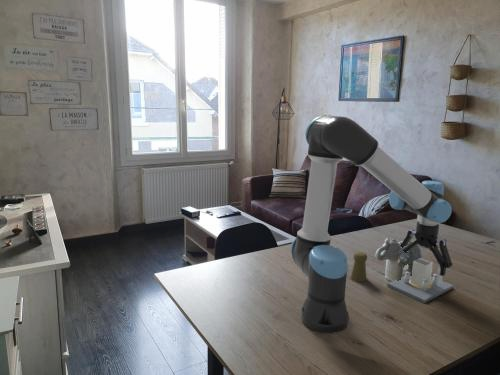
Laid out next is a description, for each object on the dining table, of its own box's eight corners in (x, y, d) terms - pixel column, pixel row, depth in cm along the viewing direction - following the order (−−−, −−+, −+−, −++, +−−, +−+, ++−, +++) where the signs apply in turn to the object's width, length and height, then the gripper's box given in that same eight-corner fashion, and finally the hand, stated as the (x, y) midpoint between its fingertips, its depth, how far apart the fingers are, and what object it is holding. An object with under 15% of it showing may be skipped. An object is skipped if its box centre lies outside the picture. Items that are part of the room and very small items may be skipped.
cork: (349, 279, 148) (351, 254, 146) (352, 273, 153) (354, 248, 151) (364, 283, 145) (367, 257, 143) (367, 277, 151) (369, 251, 148)
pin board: (424, 303, 131) (425, 288, 130) (387, 286, 143) (388, 272, 142) (452, 288, 143) (454, 274, 141) (416, 273, 155) (418, 260, 153)
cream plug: (422, 288, 139) (425, 265, 137) (410, 282, 143) (413, 260, 141) (430, 284, 142) (433, 262, 140) (417, 279, 146) (420, 257, 144)
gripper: (468, 230, 129) (459, 286, 134) (403, 213, 149) (398, 262, 154) (457, 234, 125) (449, 291, 130) (392, 215, 145) (387, 266, 150)
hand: (421, 275), depth 142 cm, fingers open, 13 cm apart
